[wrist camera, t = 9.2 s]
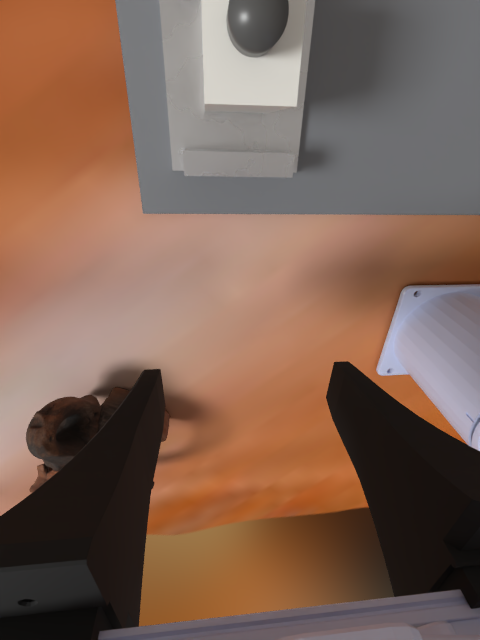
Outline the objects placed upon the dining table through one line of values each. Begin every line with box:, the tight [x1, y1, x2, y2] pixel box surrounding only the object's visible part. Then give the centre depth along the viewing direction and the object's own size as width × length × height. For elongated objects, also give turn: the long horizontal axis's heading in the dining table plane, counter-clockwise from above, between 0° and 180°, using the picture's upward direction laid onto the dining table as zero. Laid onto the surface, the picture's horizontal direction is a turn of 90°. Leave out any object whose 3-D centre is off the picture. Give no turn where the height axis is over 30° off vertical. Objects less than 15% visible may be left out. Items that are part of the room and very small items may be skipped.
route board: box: [115, 0, 480, 215], centre depth 16 cm, size 22×12×1 cm, turn 88°
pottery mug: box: [26, 387, 170, 493], centre depth 24 cm, size 12×10×8 cm
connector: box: [201, 0, 307, 113], centre depth 11 cm, size 3×4×6 cm
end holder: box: [159, 0, 315, 178], centre depth 14 cm, size 6×8×2 cm
